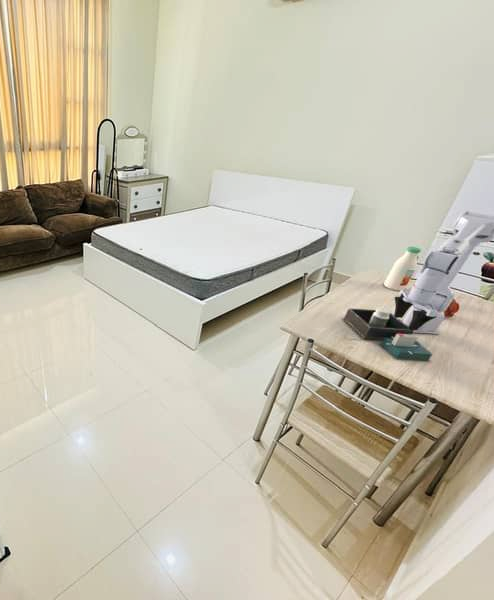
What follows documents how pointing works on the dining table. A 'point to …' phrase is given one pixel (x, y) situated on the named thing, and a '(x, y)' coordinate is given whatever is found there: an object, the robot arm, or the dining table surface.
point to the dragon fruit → (451, 309)
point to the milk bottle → (403, 270)
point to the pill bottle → (379, 318)
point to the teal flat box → (406, 350)
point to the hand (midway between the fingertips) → (404, 323)
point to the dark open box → (360, 324)
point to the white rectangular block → (404, 340)
